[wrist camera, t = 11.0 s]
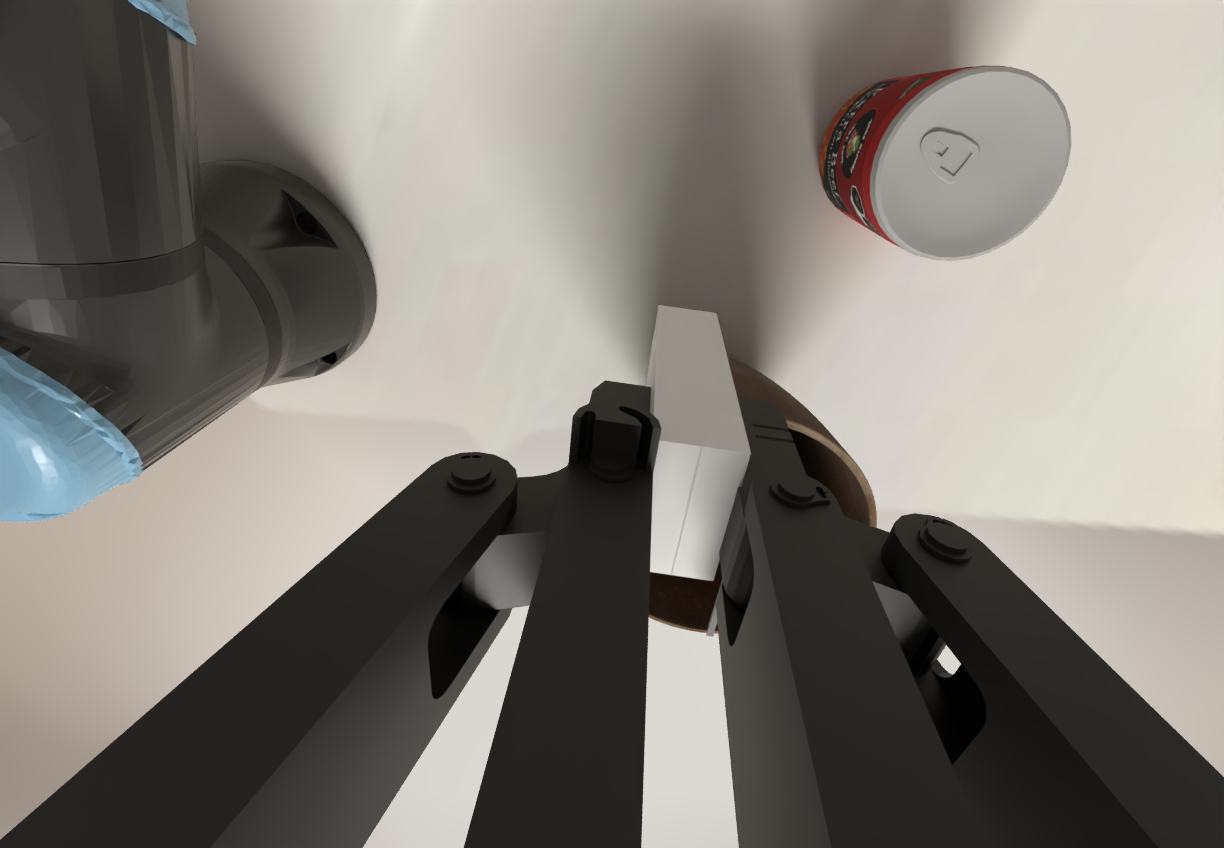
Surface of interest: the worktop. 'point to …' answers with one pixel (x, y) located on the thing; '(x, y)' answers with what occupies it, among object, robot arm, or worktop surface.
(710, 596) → the plant pot
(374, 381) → the worktop surface
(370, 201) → the worktop surface
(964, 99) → the canned food
